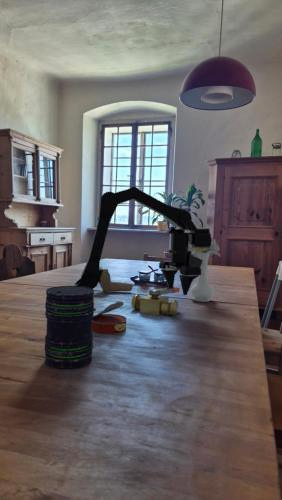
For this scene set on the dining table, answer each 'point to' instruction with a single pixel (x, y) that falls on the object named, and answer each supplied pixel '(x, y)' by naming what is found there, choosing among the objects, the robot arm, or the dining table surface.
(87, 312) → the storage jar
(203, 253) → the flower vase
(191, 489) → the dining table surface
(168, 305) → the valve
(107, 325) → the canned food
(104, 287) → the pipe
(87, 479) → the dining table surface
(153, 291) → the lever
